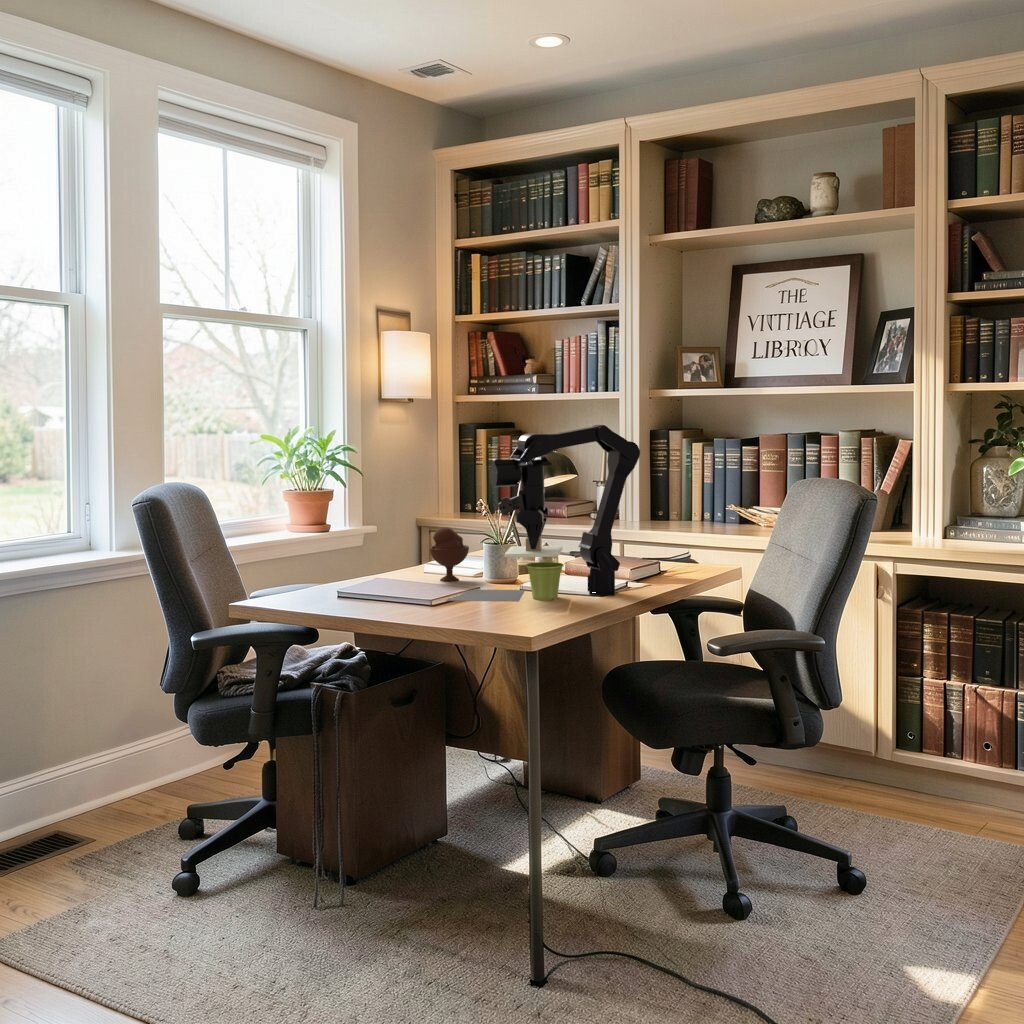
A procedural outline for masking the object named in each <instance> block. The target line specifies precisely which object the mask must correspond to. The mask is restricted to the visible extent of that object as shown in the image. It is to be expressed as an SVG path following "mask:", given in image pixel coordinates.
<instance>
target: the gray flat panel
mask: <svg viewBox="0 0 1024 1024" xmlns="http://www.w3.org/2000/svg"><path fill="white" fill-rule="evenodd" d="M525 591H526V590H525V589H479V588H478V589H476V588H475V589H473V590H470V591H468V592H465V593H463V594H461V595H459V596H456V597H453V598H448V597H447V598H448V599H445V601H447V602H451V601H452V602H516V603H517V602H519V601H520V600H521V598H522V596H523V595H524V593H525Z"/></svg>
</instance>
